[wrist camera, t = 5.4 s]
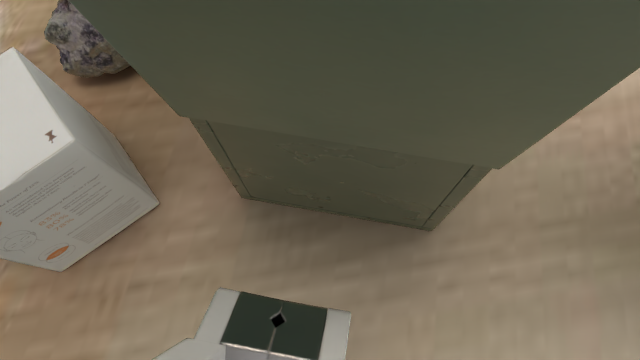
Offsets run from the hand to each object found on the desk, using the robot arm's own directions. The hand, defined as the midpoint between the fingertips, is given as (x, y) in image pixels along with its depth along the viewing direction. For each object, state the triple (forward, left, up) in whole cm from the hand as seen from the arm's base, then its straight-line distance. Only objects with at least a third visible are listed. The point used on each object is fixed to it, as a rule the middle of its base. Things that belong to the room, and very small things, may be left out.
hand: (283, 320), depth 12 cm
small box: (+15, -9, -24) cm, 30 cm away
